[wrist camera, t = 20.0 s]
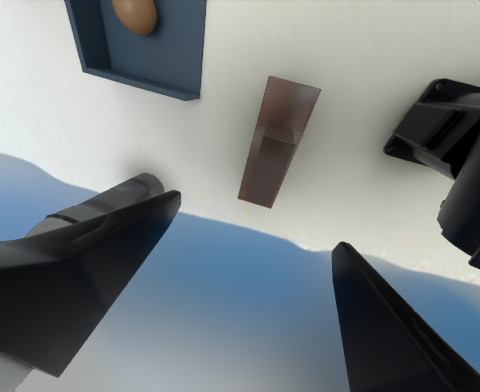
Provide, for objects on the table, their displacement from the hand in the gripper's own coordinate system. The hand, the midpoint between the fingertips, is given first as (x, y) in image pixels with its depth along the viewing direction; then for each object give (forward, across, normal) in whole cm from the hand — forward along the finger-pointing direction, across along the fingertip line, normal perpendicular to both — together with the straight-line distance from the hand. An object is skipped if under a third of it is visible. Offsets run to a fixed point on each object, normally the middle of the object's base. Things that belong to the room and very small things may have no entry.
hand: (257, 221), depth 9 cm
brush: (+13, 0, 0) cm, 13 cm away
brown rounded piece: (+11, +14, -8) cm, 20 cm away
